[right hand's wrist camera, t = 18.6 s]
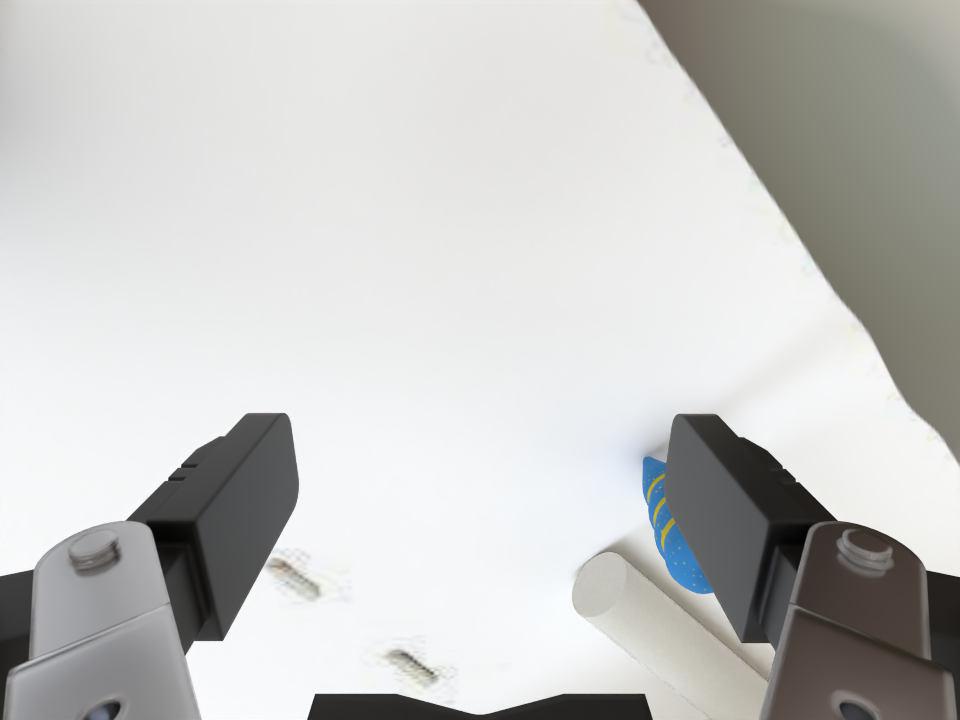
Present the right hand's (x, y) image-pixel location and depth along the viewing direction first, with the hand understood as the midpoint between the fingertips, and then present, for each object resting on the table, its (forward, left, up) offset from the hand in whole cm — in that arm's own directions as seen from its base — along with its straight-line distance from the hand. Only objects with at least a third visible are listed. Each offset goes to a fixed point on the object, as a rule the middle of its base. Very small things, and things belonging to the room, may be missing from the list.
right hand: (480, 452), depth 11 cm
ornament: (+18, +14, -29) cm, 37 cm away
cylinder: (+38, +20, -29) cm, 51 cm away
